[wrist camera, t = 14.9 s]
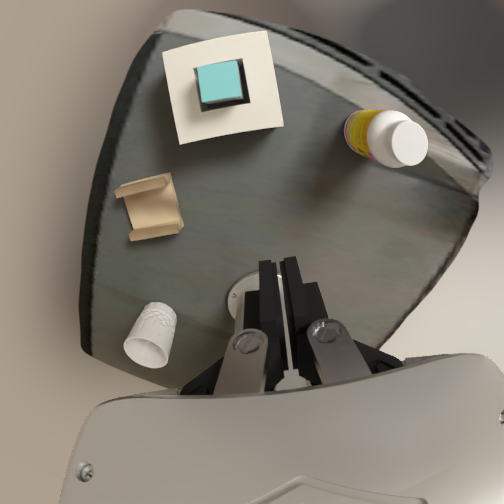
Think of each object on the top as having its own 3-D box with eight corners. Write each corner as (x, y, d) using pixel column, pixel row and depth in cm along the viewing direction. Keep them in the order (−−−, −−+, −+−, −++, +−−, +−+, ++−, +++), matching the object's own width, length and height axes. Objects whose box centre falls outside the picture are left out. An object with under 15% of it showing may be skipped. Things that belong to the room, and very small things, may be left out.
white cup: (173, 297, 47) (158, 337, 38) (185, 329, 50) (174, 368, 42) (135, 299, 47) (116, 336, 39) (149, 330, 51) (134, 367, 42)
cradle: (184, 225, 40) (179, 233, 38) (138, 233, 41) (131, 242, 38) (170, 172, 36) (163, 176, 34) (123, 184, 37) (114, 189, 34)
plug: (244, 100, 31) (241, 95, 24) (213, 105, 31) (201, 102, 24) (240, 72, 29) (236, 60, 22) (209, 77, 29) (197, 67, 22)
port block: (279, 124, 33) (283, 126, 28) (191, 140, 34) (179, 144, 29) (264, 43, 28) (266, 30, 22) (176, 61, 29) (162, 52, 23)
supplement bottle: (338, 148, 35) (375, 165, 23) (347, 104, 31) (388, 101, 20) (379, 159, 35) (426, 182, 24) (388, 118, 32) (440, 124, 21)
